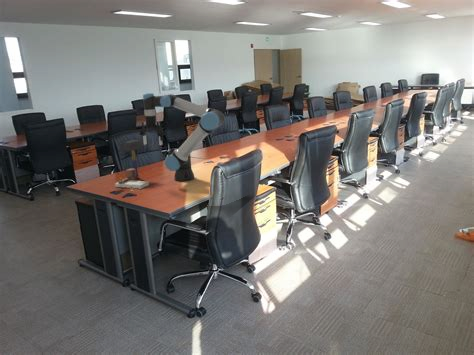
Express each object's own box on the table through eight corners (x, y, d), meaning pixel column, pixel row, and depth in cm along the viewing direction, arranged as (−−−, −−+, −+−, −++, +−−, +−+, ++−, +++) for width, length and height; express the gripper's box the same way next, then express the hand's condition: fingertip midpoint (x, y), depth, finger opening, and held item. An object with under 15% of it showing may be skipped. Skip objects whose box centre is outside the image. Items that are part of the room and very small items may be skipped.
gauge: (131, 181, 305) (130, 168, 302) (137, 181, 303) (135, 168, 300) (117, 187, 289) (115, 173, 287) (123, 187, 288) (121, 174, 285)
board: (124, 183, 300) (123, 179, 299) (148, 185, 291) (148, 181, 291) (115, 186, 291) (115, 183, 290) (140, 188, 282) (140, 185, 282)
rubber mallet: (137, 175, 319) (133, 139, 311) (145, 176, 316) (141, 139, 308) (127, 179, 308) (122, 141, 300) (134, 180, 305) (130, 142, 297)
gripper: (132, 116, 285) (135, 145, 290) (162, 116, 275) (164, 146, 281) (139, 114, 292) (142, 143, 297) (168, 114, 282) (170, 144, 288)
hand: (153, 144), depth 289 cm, fingers open, 13 cm apart
